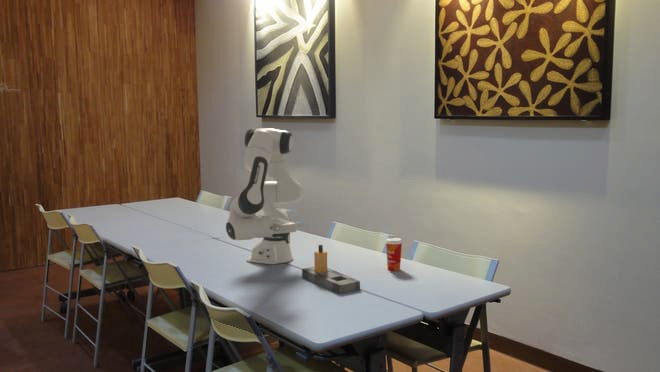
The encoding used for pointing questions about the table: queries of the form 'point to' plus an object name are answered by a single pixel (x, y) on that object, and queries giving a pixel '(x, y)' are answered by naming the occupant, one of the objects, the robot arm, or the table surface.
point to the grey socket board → (332, 280)
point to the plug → (320, 260)
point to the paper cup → (393, 253)
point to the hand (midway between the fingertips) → (295, 222)
